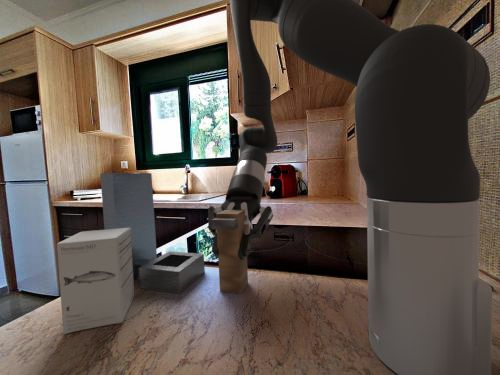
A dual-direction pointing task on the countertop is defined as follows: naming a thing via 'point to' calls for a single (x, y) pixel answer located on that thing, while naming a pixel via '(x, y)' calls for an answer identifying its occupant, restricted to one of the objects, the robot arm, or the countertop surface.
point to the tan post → (230, 250)
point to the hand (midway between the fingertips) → (228, 256)
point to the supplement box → (95, 278)
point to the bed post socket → (145, 233)
